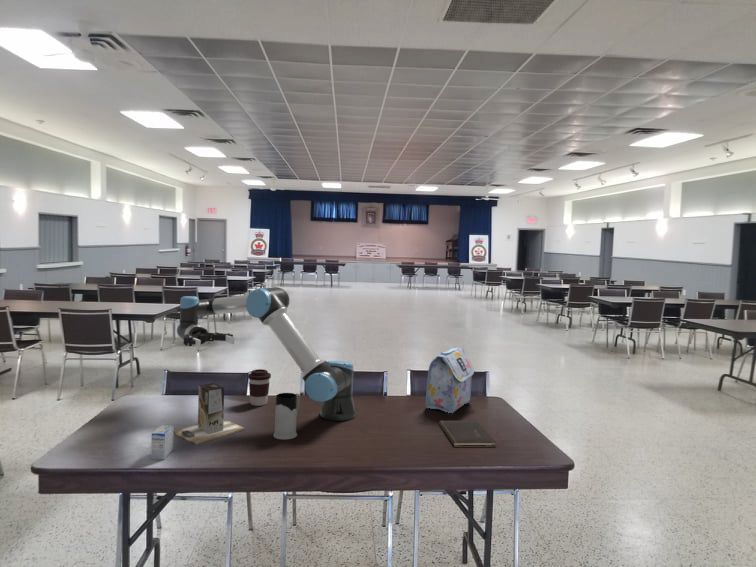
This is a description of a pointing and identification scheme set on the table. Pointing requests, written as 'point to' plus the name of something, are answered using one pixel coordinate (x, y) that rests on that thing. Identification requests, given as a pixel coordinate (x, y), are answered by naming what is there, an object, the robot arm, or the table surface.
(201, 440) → the clipboard
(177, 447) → the table surface
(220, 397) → the coffee box
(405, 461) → the table surface
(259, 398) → the coffee cup
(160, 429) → the medicine box
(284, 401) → the grey mug
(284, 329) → the robot arm
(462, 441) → the hardcover book
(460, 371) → the lunch bag
